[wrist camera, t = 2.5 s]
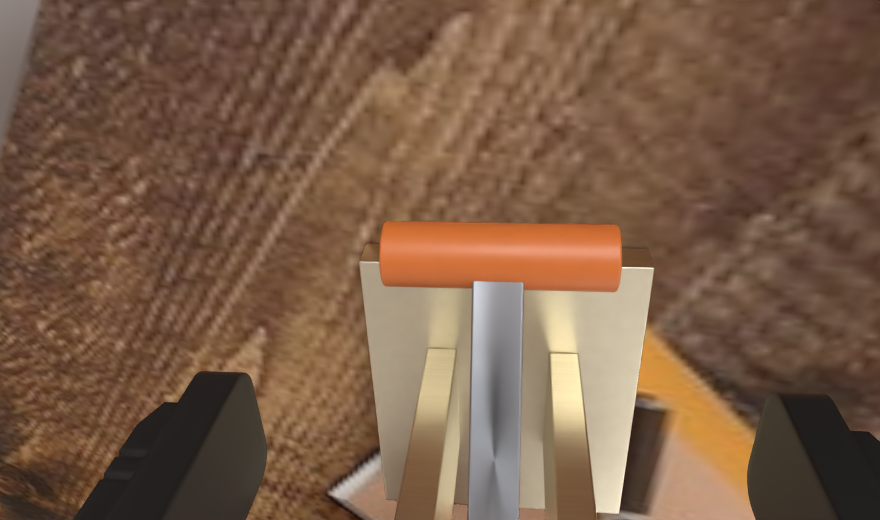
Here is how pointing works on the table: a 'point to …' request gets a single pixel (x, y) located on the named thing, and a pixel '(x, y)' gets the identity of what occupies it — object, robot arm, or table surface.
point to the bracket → (543, 391)
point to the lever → (498, 319)
